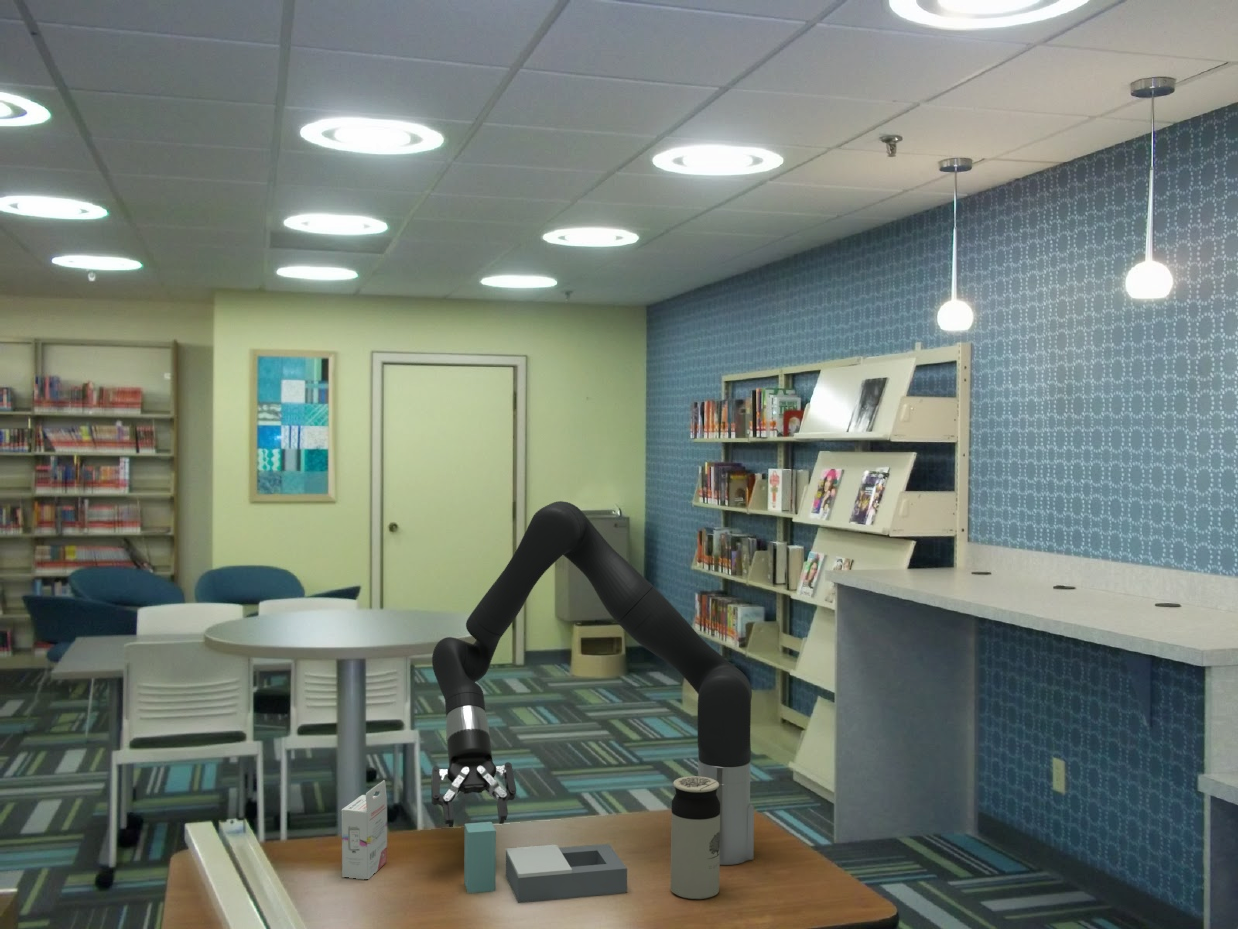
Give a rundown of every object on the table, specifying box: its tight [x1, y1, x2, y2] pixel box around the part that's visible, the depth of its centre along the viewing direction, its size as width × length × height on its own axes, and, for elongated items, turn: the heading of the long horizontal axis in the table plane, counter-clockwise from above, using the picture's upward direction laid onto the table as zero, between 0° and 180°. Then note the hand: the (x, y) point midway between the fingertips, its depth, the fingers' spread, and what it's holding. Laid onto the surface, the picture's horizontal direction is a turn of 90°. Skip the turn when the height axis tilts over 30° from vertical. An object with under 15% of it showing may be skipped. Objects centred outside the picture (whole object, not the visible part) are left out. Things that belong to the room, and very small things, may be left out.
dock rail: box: [505, 843, 628, 904], centre depth 200 cm, size 18×12×5 cm, turn 105°
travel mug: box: [670, 775, 720, 900], centre depth 197 cm, size 8×8×18 cm
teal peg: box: [463, 821, 497, 894], centre depth 198 cm, size 4×4×10 cm
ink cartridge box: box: [341, 779, 388, 880], centre depth 205 cm, size 9×5×15 cm, turn 168°
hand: (476, 823), depth 202 cm, fingers open, 8 cm apart
